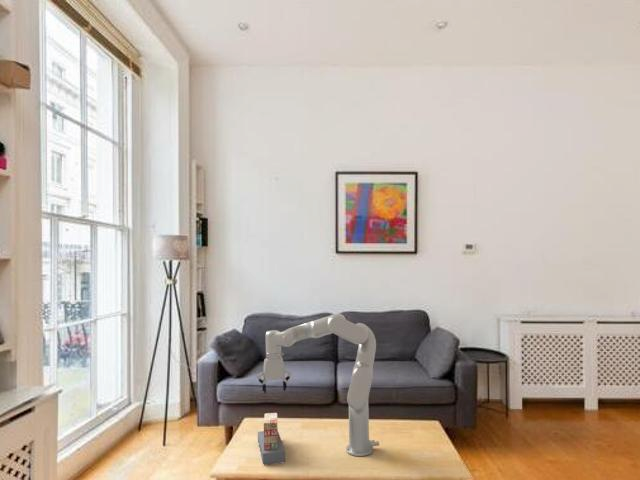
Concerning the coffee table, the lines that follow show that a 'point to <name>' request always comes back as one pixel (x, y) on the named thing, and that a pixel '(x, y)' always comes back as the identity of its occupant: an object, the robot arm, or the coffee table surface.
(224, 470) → the coffee table surface
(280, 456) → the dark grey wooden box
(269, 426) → the stack of blocks
